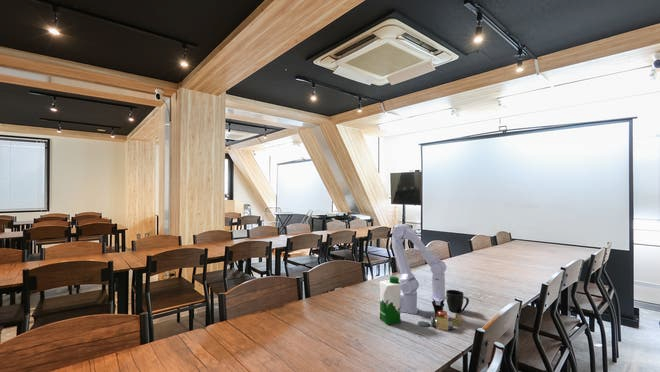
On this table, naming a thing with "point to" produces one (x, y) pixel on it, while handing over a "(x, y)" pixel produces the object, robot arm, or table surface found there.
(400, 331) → the table surface
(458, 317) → the elbow
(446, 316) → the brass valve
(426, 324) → the pad
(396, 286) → the milk carton
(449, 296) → the mug
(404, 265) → the robot arm
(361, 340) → the table surface
